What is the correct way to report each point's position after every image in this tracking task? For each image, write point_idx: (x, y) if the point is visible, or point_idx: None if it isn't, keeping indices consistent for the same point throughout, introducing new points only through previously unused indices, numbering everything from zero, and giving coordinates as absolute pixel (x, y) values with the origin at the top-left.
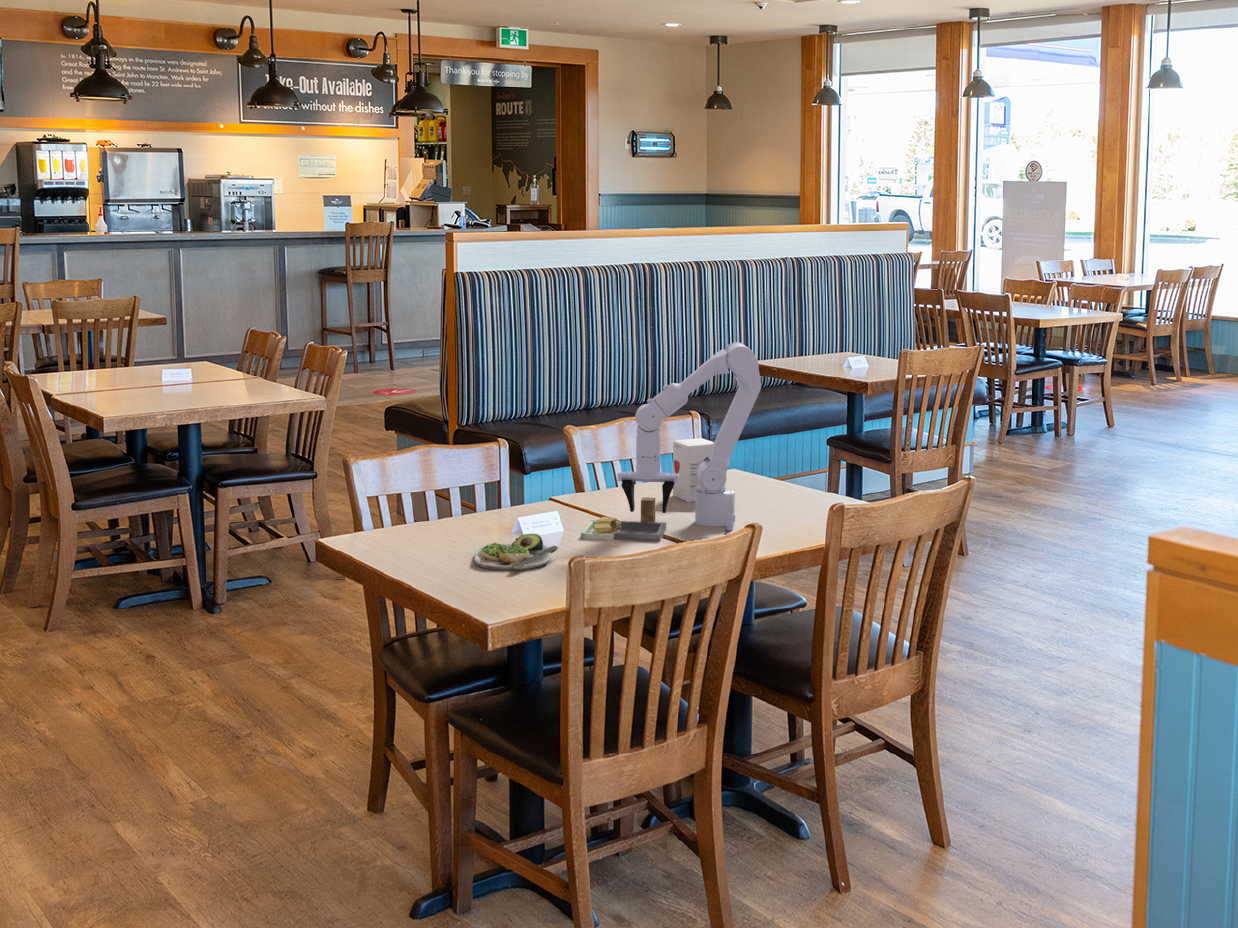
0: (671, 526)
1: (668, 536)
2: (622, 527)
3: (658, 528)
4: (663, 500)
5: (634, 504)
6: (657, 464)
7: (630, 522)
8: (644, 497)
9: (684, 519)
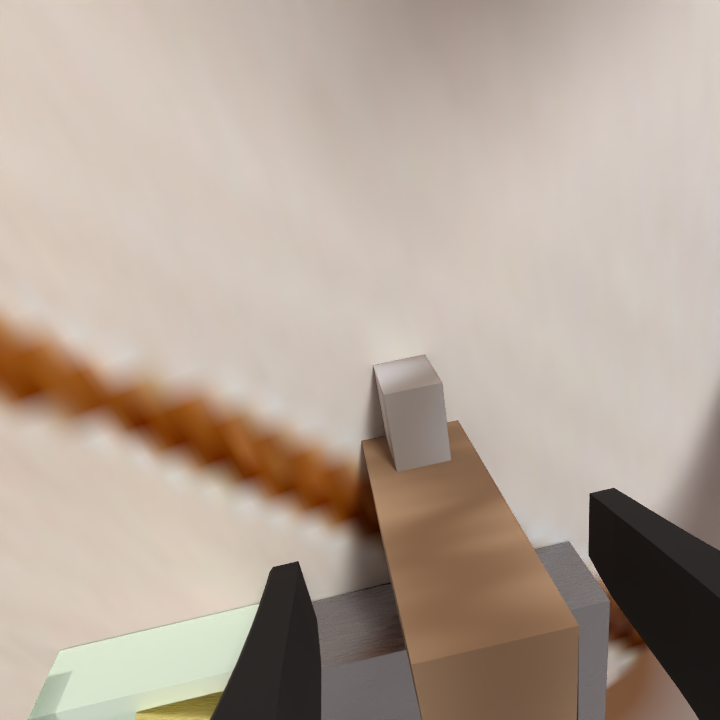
0: (579, 382)
1: None
2: None
3: None
4: (693, 698)
5: (293, 597)
6: None
7: (353, 681)
8: (436, 668)
9: (669, 106)
